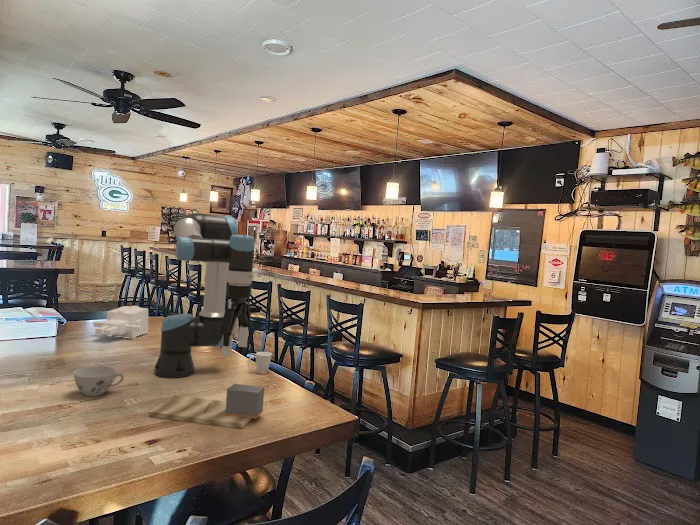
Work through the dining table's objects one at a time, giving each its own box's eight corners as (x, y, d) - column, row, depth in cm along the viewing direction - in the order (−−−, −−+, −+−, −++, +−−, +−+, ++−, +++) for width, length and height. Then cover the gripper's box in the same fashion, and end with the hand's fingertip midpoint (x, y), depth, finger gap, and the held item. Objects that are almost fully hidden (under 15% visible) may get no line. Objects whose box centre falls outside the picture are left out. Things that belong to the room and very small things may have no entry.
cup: (272, 374, 194) (274, 355, 194) (248, 375, 190) (250, 356, 190) (268, 369, 201) (270, 351, 201) (245, 370, 197) (246, 352, 197)
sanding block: (225, 414, 143) (227, 389, 143) (232, 408, 149) (234, 383, 149) (256, 418, 142) (258, 392, 142) (262, 411, 148) (264, 387, 148)
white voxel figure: (79, 344, 227) (115, 329, 254) (126, 349, 223) (158, 334, 251) (79, 314, 225) (116, 303, 253) (126, 319, 222) (158, 307, 249)
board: (148, 416, 141) (148, 411, 141) (174, 399, 157) (174, 395, 157) (242, 428, 137) (243, 423, 137) (260, 410, 153) (260, 405, 153)
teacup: (71, 401, 148) (72, 377, 148) (73, 389, 159) (74, 366, 159) (123, 397, 155) (124, 374, 155) (122, 386, 166) (123, 364, 166)
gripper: (236, 289, 132) (231, 362, 133) (263, 282, 157) (259, 344, 158) (211, 286, 133) (206, 359, 134) (242, 280, 158) (237, 341, 159)
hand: (234, 351), depth 146 cm, fingers open, 13 cm apart
